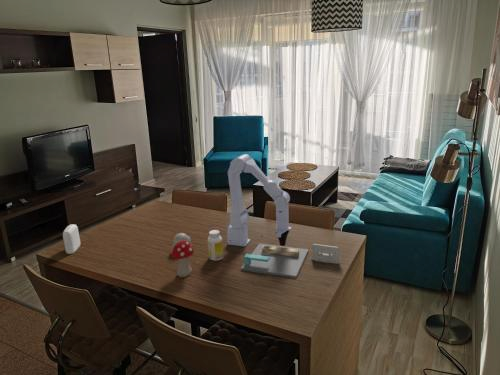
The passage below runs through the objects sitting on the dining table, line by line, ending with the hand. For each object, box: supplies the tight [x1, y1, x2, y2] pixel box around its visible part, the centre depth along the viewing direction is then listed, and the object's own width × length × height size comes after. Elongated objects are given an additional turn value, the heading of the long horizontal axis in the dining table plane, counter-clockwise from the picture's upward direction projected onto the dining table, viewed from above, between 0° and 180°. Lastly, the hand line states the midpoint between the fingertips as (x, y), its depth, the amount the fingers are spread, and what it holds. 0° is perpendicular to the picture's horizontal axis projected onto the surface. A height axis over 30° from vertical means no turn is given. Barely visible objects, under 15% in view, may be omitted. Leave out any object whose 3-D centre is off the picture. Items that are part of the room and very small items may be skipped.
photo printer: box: [62, 224, 82, 255], centre depth 190 cm, size 10×4×12 cm, turn 2°
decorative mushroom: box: [170, 241, 195, 278], centre depth 162 cm, size 10×9×15 cm
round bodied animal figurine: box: [171, 232, 192, 250], centre depth 187 cm, size 7×12×8 cm, turn 154°
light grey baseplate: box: [240, 243, 309, 279], centre depth 173 cm, size 24×25×1 cm
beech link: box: [262, 244, 299, 257], centre depth 177 cm, size 17×4×3 cm, turn 70°
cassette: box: [311, 243, 341, 265], centre depth 170 cm, size 12×2×8 cm, turn 69°
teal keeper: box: [243, 253, 270, 265], centre depth 167 cm, size 10×3×5 cm, turn 70°
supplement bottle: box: [207, 229, 224, 262], centre depth 176 cm, size 7×7×13 cm
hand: (282, 245), depth 183 cm, fingers closed
